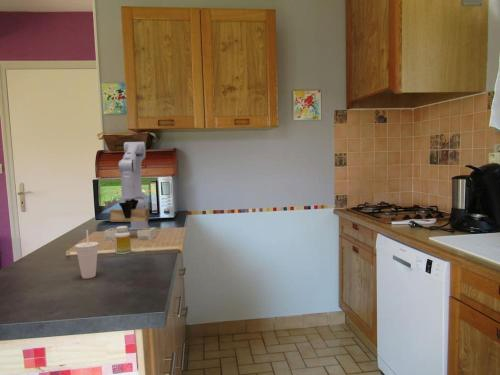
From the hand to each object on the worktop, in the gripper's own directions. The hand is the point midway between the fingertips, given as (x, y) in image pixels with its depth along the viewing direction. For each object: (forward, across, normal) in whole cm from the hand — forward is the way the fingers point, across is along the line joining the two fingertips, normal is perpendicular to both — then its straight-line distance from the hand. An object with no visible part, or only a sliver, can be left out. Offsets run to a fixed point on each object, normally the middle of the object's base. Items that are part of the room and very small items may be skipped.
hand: (129, 217), depth 154 cm
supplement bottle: (+10, +24, +7) cm, 27 cm away
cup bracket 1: (+9, 0, -7) cm, 12 cm away
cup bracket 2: (+9, 0, +7) cm, 12 cm away
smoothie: (+10, +52, +8) cm, 53 cm away
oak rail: (+2, 0, 0) cm, 2 cm away
